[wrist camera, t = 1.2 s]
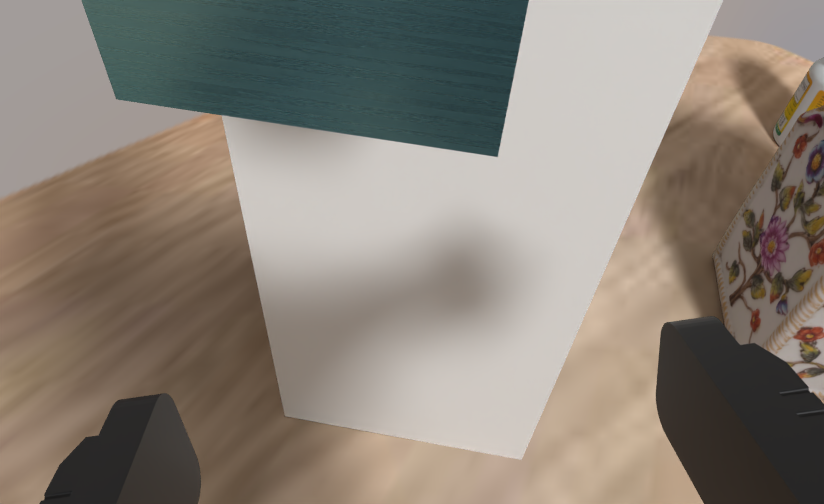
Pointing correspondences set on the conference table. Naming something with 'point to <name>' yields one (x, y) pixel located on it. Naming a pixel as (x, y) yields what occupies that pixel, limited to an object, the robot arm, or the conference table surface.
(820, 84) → the supplement bottle
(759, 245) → the decorative jar
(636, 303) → the conference table surface
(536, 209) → the tall white pedestal box
